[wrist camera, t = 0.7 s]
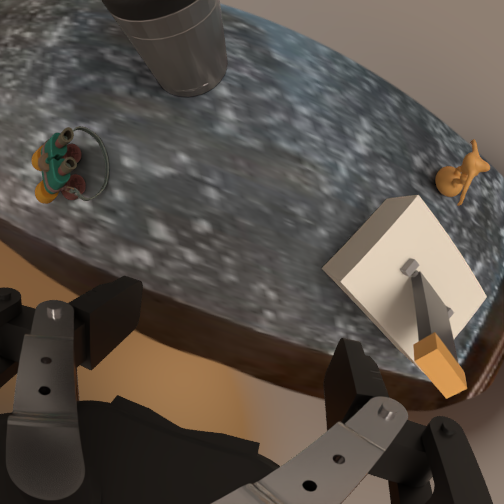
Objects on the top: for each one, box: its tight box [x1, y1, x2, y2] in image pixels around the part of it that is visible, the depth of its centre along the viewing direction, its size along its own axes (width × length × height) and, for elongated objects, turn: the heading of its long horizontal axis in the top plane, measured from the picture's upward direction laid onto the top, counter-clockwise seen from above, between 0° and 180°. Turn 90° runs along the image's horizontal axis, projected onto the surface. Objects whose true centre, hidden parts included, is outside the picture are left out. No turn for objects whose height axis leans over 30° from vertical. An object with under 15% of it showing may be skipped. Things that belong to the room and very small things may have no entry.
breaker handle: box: [411, 270, 467, 399], centre depth 24 cm, size 2×6×12 cm
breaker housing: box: [322, 195, 487, 373], centre depth 32 cm, size 12×16×9 cm
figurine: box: [435, 139, 490, 206], centre depth 30 cm, size 8×6×12 cm
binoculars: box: [32, 126, 109, 204], centre depth 31 cm, size 9×9×10 cm
